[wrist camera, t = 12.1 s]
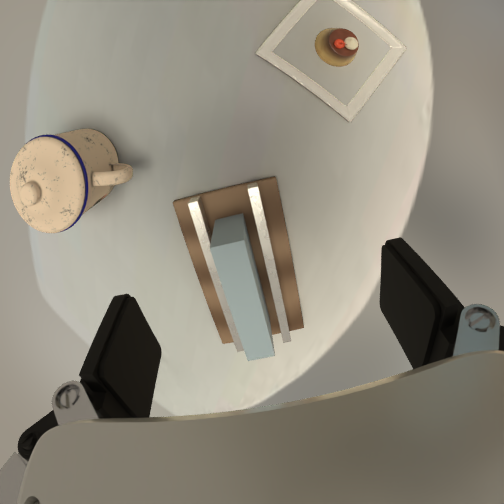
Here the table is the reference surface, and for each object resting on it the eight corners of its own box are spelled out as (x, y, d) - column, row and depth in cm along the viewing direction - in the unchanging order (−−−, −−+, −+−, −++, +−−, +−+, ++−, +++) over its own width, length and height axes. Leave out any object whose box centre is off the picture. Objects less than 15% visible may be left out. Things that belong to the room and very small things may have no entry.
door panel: (215, 219, 32) (209, 248, 26) (242, 213, 32) (243, 240, 26) (246, 321, 38) (248, 361, 32) (269, 316, 38) (274, 355, 32)
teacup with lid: (58, 204, 31) (1, 245, 21) (53, 130, 27) (-13, 147, 17) (148, 204, 32) (109, 251, 22) (147, 121, 28) (100, 130, 18)
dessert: (254, 55, 26) (257, 45, 22) (318, -18, 22) (329, -35, 18) (346, 122, 30) (363, 125, 25) (402, 49, 25) (424, 43, 21)
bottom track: (174, 200, 32) (168, 208, 30) (275, 176, 31) (278, 182, 29) (223, 339, 41) (222, 354, 38) (302, 324, 40) (306, 337, 38)
